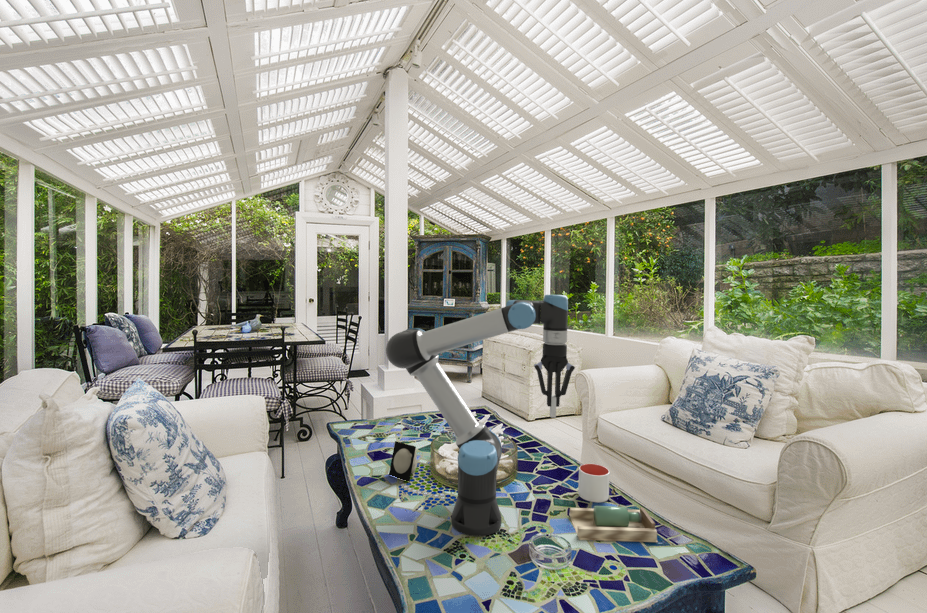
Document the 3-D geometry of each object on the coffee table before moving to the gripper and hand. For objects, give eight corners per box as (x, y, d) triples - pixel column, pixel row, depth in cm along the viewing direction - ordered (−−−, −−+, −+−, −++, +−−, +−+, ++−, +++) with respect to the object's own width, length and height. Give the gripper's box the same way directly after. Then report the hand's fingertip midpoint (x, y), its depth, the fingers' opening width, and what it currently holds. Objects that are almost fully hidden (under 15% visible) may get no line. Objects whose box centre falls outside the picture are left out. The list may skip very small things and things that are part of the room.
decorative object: (401, 474, 174) (421, 481, 168) (383, 476, 165) (404, 483, 160) (407, 440, 176) (427, 446, 171) (390, 441, 167) (411, 446, 162)
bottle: (596, 505, 133) (641, 507, 132) (592, 506, 138) (636, 507, 137) (598, 525, 131) (644, 527, 130) (594, 525, 135) (638, 527, 135)
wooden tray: (579, 543, 126) (579, 525, 126) (568, 517, 140) (569, 501, 140) (658, 545, 126) (658, 528, 125) (639, 519, 140) (640, 503, 139)
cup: (610, 507, 147) (611, 477, 146) (578, 503, 149) (579, 474, 148) (606, 493, 157) (607, 465, 156) (577, 489, 159) (578, 462, 158)
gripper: (535, 344, 139) (533, 419, 140) (578, 345, 138) (575, 420, 140) (532, 341, 146) (530, 412, 147) (572, 342, 146) (570, 413, 147)
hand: (552, 416), depth 144 cm, fingers closed
